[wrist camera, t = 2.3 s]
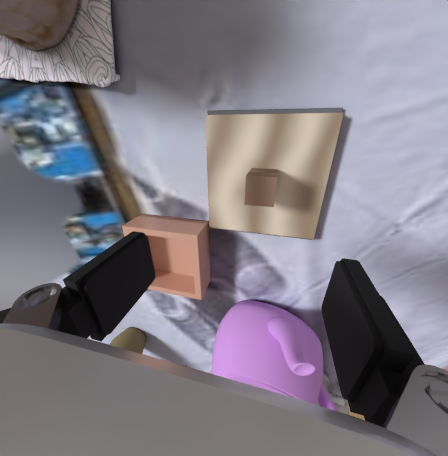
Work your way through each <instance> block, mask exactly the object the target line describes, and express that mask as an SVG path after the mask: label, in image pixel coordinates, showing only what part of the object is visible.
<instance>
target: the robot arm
mask: <svg viewBox="0 0 448 456" xmlns="http://www.w3.org/2000/svg"><path fill="white" fill-rule="evenodd" d="M155 276H156V275H155V269H154V264H153V260H152V255H151V250H150V245H149V240H148V237H147V236H146V235H145V233H143V232H136V231H133V232H131V233H129V234H128V235H126V236H125V237H124V238H122V239H121V240H119V241H118V242H116V243H115V244H114V245H112V246H111V247H109V248H108V249H106V250H105V251H104V252H102V253H101V254H99V255H98V256H96V257H95V258H93V259H92V260H91V261H89V262H88V263H86V264H85V265H83V266H82V267H81V268H79V269H78V270H76V271H75V272H73V273H72V274H71V275H69V276H68V277H66V278H65V279H63V281H64V283H65V285H66V286H65V287H64V288H63V289H62V287H61V286H60V285H59V284H57V283H48V284H43V285H40V286H37V287H35V288H33V289H31V290H29V291H27V292H25V293H24V294H22V295H21V296H20V297H19V298H18V299H17V300H16V301H15V302H14V304H13V306H12V308H9V309H6V310H3V311H0V456H448V371H446V370H444V369H441V368H438V367H436V366H432V365H425V364H424V362H423V361H422V359H421V358H420V356H419V354H418V353H417V351H416V350H415V348H414V346H413V345H412V343H411V342H410V340H409V338H408V337H407V335H406V334H405V332H404V330H403V329H402V327H401V326H400V324H399V322H398V321H397V319H396V318H395V316H394V314H393V313H392V311H391V310H390V308H389V306H388V305H387V303H386V301H385V300H384V299H383V297H382V296H380V295H379V293H378V292H377V290H376V288H375V287H374V285H373V284H372V282H371V280H370V279H369V277H368V275H367V274H366V272H365V270H364V269H363V267H362V266H361V264H360V262H359V261H357V260H351V259H341V261H337V262H336V263H335V266H334V270H333V273H332V276H331V279H330V282H329V285H328V288H327V291H326V294H325V297H324V301H323V304H322V315H323V319H324V323H325V327H326V331H327V336H328V340H329V344H330V348H331V352H332V356H333V361H334V365H335V369H336V373H337V377H338V381H339V386H340V390H341V394H342V396H343V397H341V396H338V395H332V394H331V393H330V388H331V387H330V381H329V378H328V377H327V375H326V374H325V373H324V372H323V377H322V384H323V386H324V388H325V389H326V391H327V392H328V394H329V396H330V397H331V399H332V401H333V403H334V404H335V406H336V408H337V410H338V411H335V410H332V409H328V408H325V407H322V406H320V405H319V402H318V401H317V405H315V404H312V403H309V402H306V401H302V400H299V399H296V398H293V397H289V396H286V395H283V394H279V393H276V392H272V391H269V390H265V389H262V388H259V387H255V386H252V385H248V384H245V383H241V382H238V381H234V380H231V379H228V378H224V377H221V376H217V375H214V374H210V373H207V372H203V371H200V370H196V369H193V368H189V367H186V366H182V365H179V364H175V363H172V362H168V361H165V360H161V359H158V358H154V357H150V356H147V355H143V354H140V353H136V352H133V351H129V350H126V349H122V348H118V347H115V346H111V345H108V344H104V343H100V342H97V341H93V340H90V339H87V338H88V337H89V336H91V338H92V339H95V340H98V341H102V340H103V339H104V338H105V337H106V335H108V334H110V333H111V332H112V331H113V330H114V329H115V328H116V326H117V325H118V324H119V323H120V321H121V320H122V319H123V318H124V317H125V315H126V314H127V313H128V312H129V310H130V309H131V308H132V307H133V306H134V304H135V303H136V302H137V301H138V300H139V298H140V297H141V296H142V295H143V293H144V292H145V291H146V290H147V289H148V287H149V286H150V285H151V284H152V282H153V281H154V280H155ZM344 399H346V400H348V403H349V407H350V411H351V412H353V413H357V414H361V415H364V418H365V421H364V420H361V419H359V418H356V417H353V416H350V415H348V414H349V413H348V406H347V404H346V403H345V401H344Z"/></svg>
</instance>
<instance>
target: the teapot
mask: <svg viewBox="0 0 448 456" xmlns="http://www.w3.org/2000/svg"><path fill="white" fill-rule="evenodd" d="M212 374H214V375H217V376H221V377H224V378H228V379H231V380H234V381H238V382H241V383H245V384H248V385H252V386H255V387H259V388H262V389H265V390H269V391H272V392H276V393H279V394H283V395H286V396H289V397H293V398H296V399H299V400H302V401H306V402H309V403H312V404H315V405H317V401H318V402H319V405H320V406H322V407H325V408H328V409H332V410H335V411H338V410H337V408H336V406H335V404H334V403H333V401H332V399H331V397H330V396H329V394H328V392H327V391H326V389H325V388H324V386H323V384H322V377H323V352H322V346H321V342H320V340H319V338H318V336H317V335H316V334H315V332H314V331H313V330H312V329H311V328H310V327H309V326H308V325H307V324H306V323H305V322H304V321H302V320H301V319H299V318H298V317H296V316H295V315H293V314H291V313H289V312H288V311H286V310H284V309H281V308H279V307H276V306H273V305H270V304H266V303H263V302H258V301H253V300H244V301H240V302H238V303H237V304H236V305H234V306H233V307H232V308H231V309H230V310H229V311H228V312H227V314H226V315H225V316H224V318H223V320H222V321H221V323H220V325H219V328H218V331H217V334H216V338H215V343H214V349H213V356H212Z"/></svg>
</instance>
